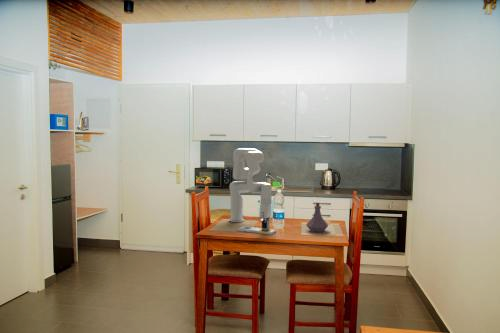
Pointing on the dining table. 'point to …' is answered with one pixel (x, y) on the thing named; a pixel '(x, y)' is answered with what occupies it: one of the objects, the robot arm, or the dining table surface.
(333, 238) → the dining table surface
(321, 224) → the flask
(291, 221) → the dining table surface
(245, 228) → the white flat tray
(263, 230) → the nut block
